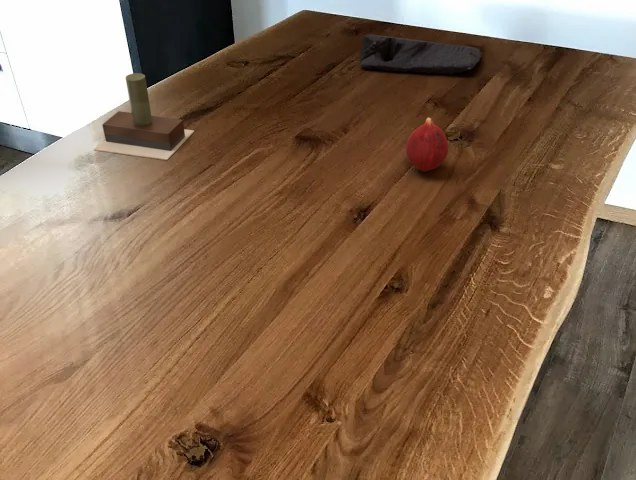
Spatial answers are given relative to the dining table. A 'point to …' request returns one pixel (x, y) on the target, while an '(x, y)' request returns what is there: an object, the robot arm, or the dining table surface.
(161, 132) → the stamp with green handle
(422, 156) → the onion
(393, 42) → the dark slate chunk
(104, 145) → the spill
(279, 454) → the dining table surface
